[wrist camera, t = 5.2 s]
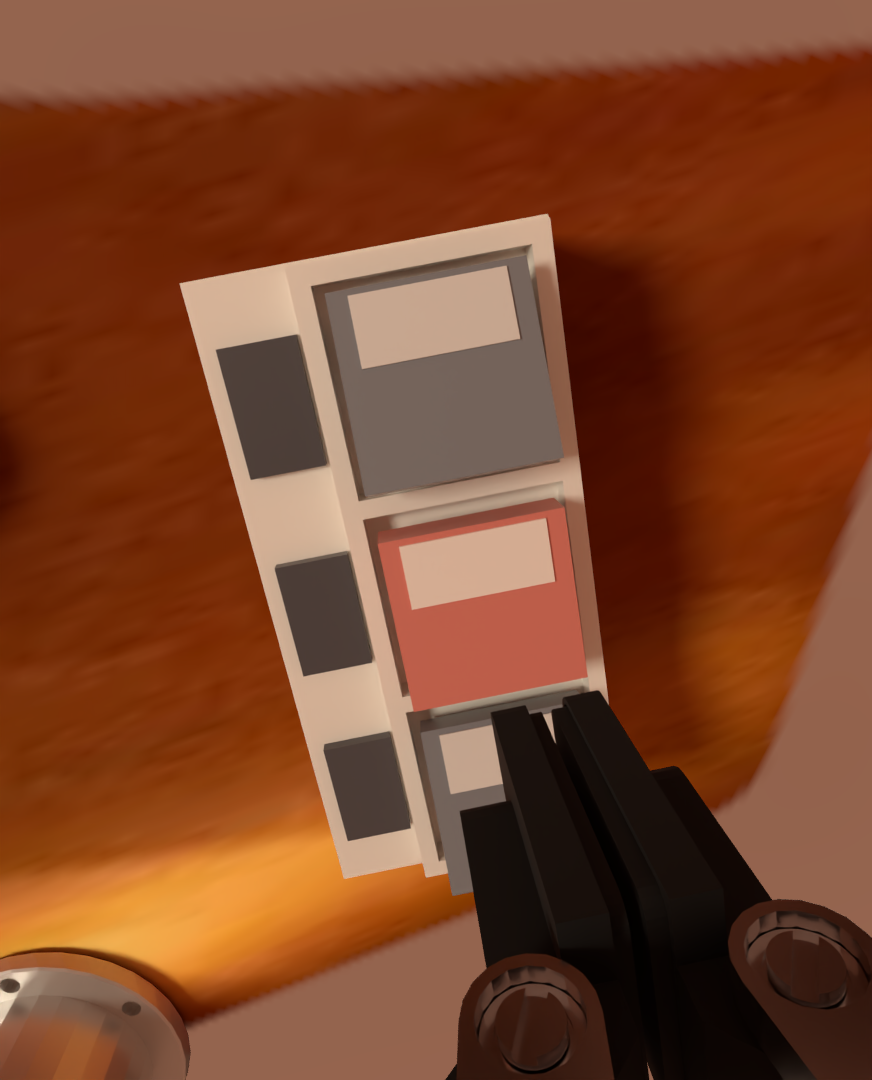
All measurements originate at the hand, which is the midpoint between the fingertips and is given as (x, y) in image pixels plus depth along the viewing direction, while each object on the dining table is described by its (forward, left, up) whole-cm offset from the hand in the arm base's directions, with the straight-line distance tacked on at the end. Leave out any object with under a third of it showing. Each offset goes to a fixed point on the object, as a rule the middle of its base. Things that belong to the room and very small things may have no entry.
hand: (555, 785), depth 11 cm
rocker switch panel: (-2, +1, -18) cm, 19 cm away
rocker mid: (-2, 0, -11) cm, 12 cm away
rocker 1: (+5, 0, -11) cm, 12 cm away
